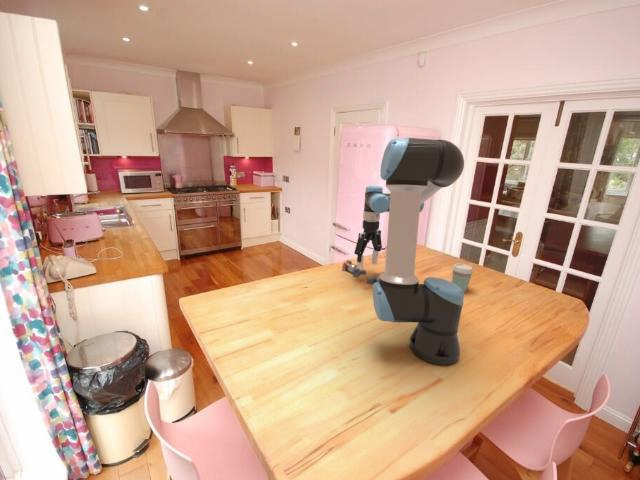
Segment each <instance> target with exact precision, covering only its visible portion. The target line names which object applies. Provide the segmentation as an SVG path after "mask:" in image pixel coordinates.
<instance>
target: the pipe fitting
mask: <svg viewBox="0 0 640 480" xmlns="http://www.w3.org/2000/svg"><path fill="white" fill-rule="evenodd" d="M341 269H342V271H343V272H348V273H350V274H353V275H352V277H353V278H359V276H363V275H364V276H366V274H367V270H366V269H359V268H357V265H356V264H354V263H353V262H352V260H349V259H347V260H345V261H344V262H343V264H342V267H341ZM381 274H382V273H381ZM381 274H380V273H376V274H374V275H373V276H371V277H366V281H365V283H366V284H367V285H373V284H374V283H376V282H378V283H379V277H380V275H381Z"/></svg>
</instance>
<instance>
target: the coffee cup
mask: <svg viewBox="0 0 640 480" xmlns="http://www.w3.org/2000/svg"><path fill="white" fill-rule="evenodd" d="M473 274H474V270H473V267H472V265H471V266H470V265H468V264H465V263H454V264H453V266H452V279H451V280H452V281H451V282H452V283H454V284H456V285H458V286H459V287H460V288H461V289H462V290H463V292H464V294H465V293H467V290H468V288H469V284H470V281H471V278H472V275H473Z"/></svg>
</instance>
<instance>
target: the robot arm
mask: <svg viewBox="0 0 640 480" xmlns="http://www.w3.org/2000/svg"><path fill="white" fill-rule="evenodd" d="M381 159H382V160H381V164H380V171H379V172H380V176H379V177H380V179H381V180H383V181H385V187H386V189H387V190H388V191H389V192H390V193H385V192H383V190H384V189H383V186H380V185H379V186H378V185H367V186H366V187H365V191H364V205H363V206H364V207H363V216H362V229H363V232H362V233H361V232H359V233H358V238H357V242H356V246H355V249H354V252H353V255H357V258H356V262H357V268H359V269H360V270H364V268H363V267H364V257H365V256H364V252H365V251H366V247H367V245H368V244H369V243H370V241H371V244H372V247H373V250H372V255H371V264H374V265H378V256H379V252H381V251H382V248H383V245H382V243H383V242H382V235H381V234H382V230H380V229H379V228H380V219H381V214H383V213H386V212H387V213H388V221H387V222H388V223H387V237H386V238H387V239H386V251H385V266H384V272H382V273H381V275H380V277H379V283H378V282H376V283H373V284H372V289H371V290H372V302H373V306H374V313H375V314H376V317H377V318H378V320H380V321H382V322H387V323H388V322H389V323H417V324H416V326H415V328H414V330H413V331H412V334H410V337H409V344H408V345H409V348H410V351H412V353H413V354H414V355H416V356H417V357H418V358H420V359H422V360H424V361H425V362H428V363H431V364H435V365H442V366H443V365H444V366H445V365H452V364H455V363H456V362H458V361H459V358H460V353H461V348H460V341H459V336H458V331H459V325H460V321H461V315H462V310H463V306H464V297H465V293H464V292H463V290H462V289H461V288H460V287H459V286H458V285H456V284H454V283H452V281H450V280H447V279H444V278H439V277H433V276H431V277H426V278H425V279H424V280H423V283H420V280H419V278H418V277H417V276H416V275H415V267H416V258H417V257H416V255H417V246H418V244H417V243H418V234H419V222H420V213H422V211H423V209H424V207H425V202H426V201H427V200H429V199H430V198H431V197H433V196H434V195H435V194H436V193H437V192H439V191H440V190H441V189H442V188H447V187H450V186H451V185H452V184H454V183H456V182H457V180H458V179H459V178H460V177H461V175H462V174H463V171H464V168H465V159H464V154H463V153H462V151H461V149H460V148H459V147H458V146H457V145H455V143H453V142H451V141H449V140H446V139H432V138H431V139H429V138H418V137H417V138H416V137H415V138H414V137H394V138H392V139H390V141H388V143H387V145H386V147H385V149H384V152H383V154H382V158H381Z"/></svg>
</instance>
